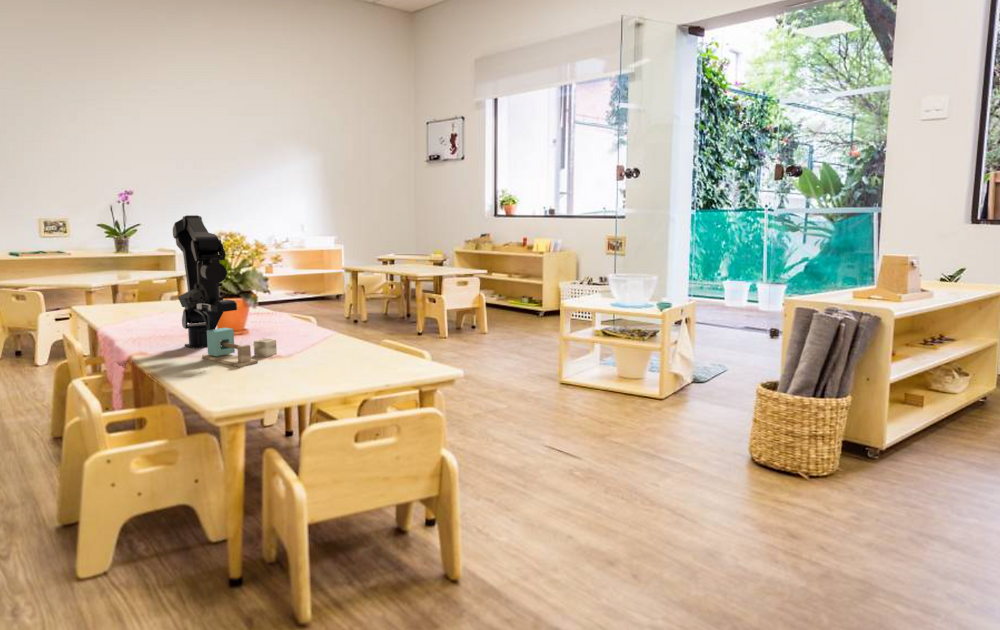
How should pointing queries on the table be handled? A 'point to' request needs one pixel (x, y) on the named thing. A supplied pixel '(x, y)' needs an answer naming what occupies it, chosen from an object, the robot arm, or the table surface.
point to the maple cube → (265, 347)
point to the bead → (214, 341)
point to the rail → (234, 356)
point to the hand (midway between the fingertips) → (211, 332)
